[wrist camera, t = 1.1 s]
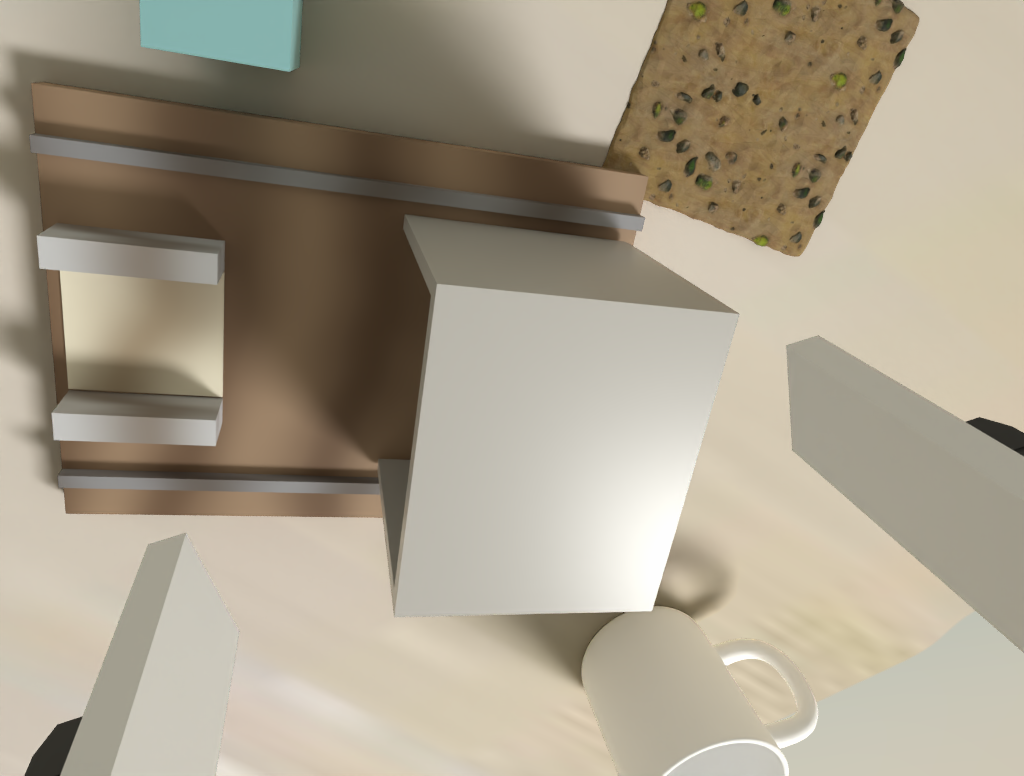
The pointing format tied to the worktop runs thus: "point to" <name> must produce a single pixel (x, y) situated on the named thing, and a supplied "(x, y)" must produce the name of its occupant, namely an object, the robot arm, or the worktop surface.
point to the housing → (547, 423)
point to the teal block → (226, 30)
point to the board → (256, 295)
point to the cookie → (758, 108)
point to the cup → (686, 700)
